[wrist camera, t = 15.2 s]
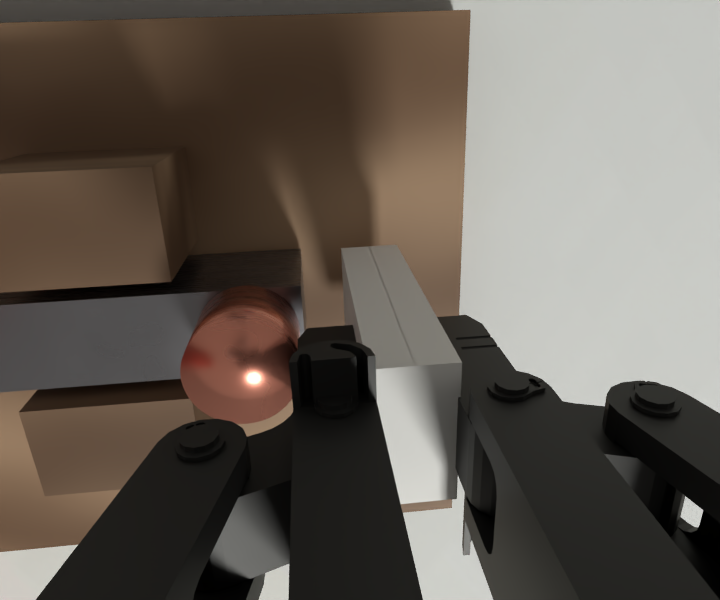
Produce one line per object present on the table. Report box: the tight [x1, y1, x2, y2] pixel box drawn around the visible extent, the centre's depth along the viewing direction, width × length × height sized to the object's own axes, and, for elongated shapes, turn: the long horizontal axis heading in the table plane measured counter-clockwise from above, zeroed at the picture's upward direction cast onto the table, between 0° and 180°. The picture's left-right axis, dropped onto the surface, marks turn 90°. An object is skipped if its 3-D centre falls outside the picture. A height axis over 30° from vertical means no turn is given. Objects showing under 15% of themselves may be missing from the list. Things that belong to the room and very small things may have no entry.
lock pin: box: [0, 249, 307, 424], centre depth 13 cm, size 2×9×5 cm, turn 92°
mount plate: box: [0, 10, 470, 552], centre depth 15 cm, size 16×24×5 cm, turn 92°
